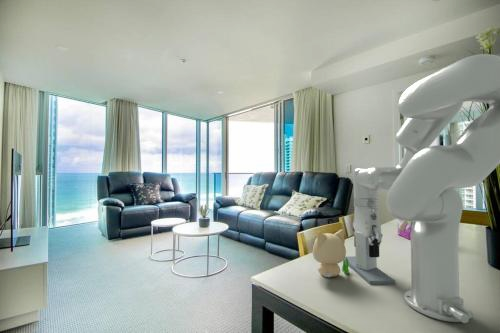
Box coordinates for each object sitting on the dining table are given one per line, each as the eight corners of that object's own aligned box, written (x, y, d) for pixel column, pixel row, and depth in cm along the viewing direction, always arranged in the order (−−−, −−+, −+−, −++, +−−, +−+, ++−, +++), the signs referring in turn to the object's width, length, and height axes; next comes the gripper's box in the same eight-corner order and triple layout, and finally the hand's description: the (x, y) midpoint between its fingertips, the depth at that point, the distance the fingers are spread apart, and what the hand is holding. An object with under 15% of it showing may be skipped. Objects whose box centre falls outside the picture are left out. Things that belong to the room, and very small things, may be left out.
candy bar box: (397, 234, 124) (396, 204, 125) (406, 234, 124) (405, 204, 125) (411, 241, 113) (410, 208, 114) (421, 241, 113) (420, 208, 114)
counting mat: (395, 283, 70) (395, 280, 70) (369, 284, 69) (369, 280, 69) (361, 258, 90) (361, 256, 90) (341, 259, 89) (341, 256, 89)
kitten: (338, 265, 83) (338, 224, 84) (359, 277, 74) (359, 231, 74) (302, 271, 78) (302, 227, 79) (320, 284, 69) (320, 235, 69)
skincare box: (366, 271, 76) (366, 234, 77) (354, 266, 80) (354, 231, 80) (377, 267, 79) (377, 232, 80) (365, 262, 83) (365, 229, 83)
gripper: (392, 206, 72) (392, 261, 71) (363, 199, 89) (363, 244, 88) (368, 206, 71) (369, 261, 71) (344, 199, 89) (344, 244, 88)
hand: (366, 251), depth 80 cm, fingers open, 9 cm apart
